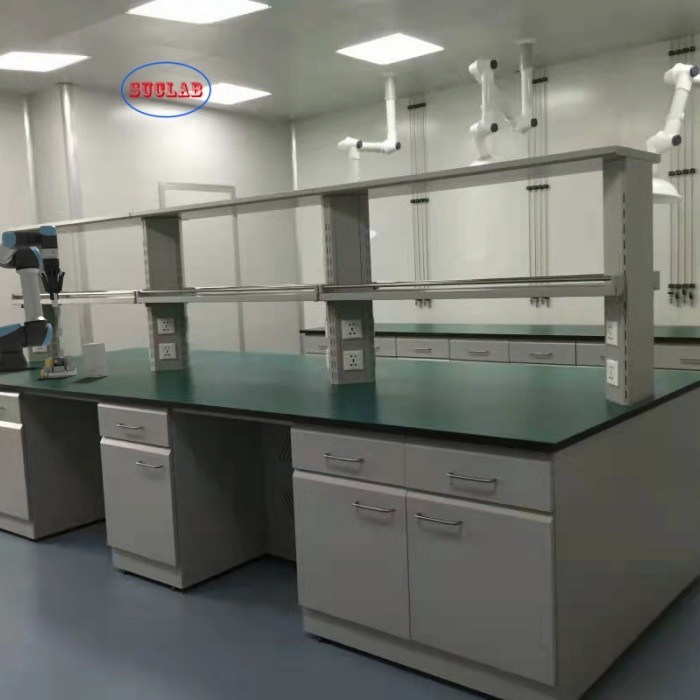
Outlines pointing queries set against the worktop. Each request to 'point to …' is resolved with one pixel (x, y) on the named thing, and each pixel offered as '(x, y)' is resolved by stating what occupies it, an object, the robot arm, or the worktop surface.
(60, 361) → the housing
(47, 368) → the ring nut
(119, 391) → the worktop surface
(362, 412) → the worktop surface
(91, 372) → the skincare box
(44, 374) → the post
